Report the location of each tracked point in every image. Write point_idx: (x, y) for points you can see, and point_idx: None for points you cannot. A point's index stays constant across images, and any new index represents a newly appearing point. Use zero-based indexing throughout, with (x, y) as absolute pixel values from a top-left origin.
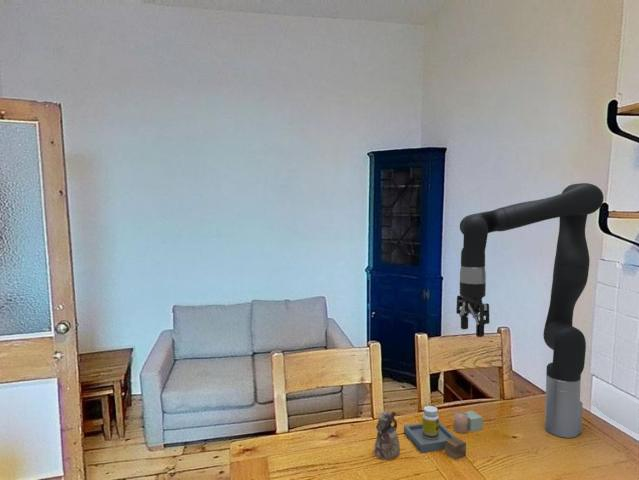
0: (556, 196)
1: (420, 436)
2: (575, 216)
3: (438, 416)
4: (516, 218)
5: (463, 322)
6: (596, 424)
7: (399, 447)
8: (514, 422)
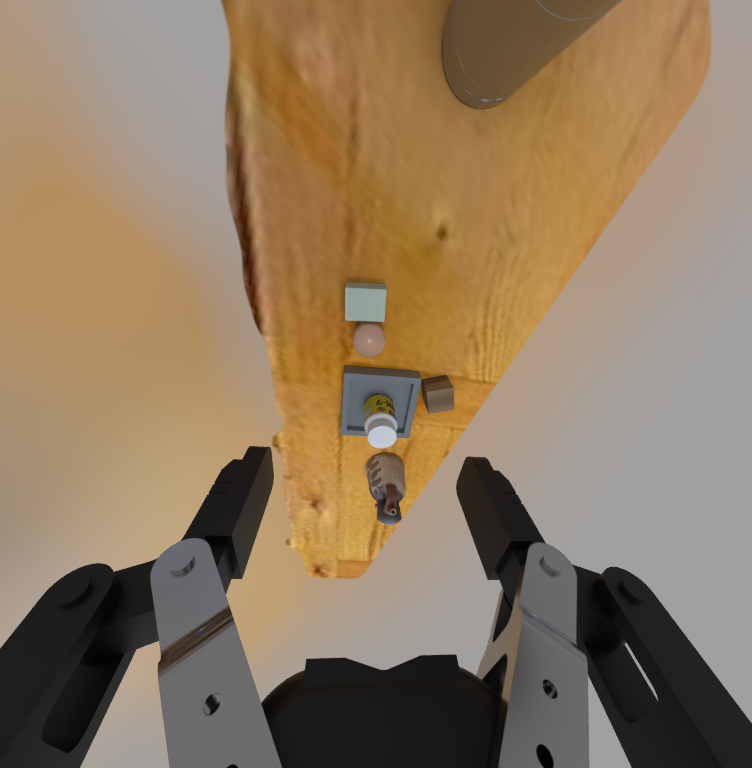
0: None
1: None
2: None
3: (390, 416)
4: None
5: (256, 524)
6: None
7: (398, 463)
8: (387, 165)
